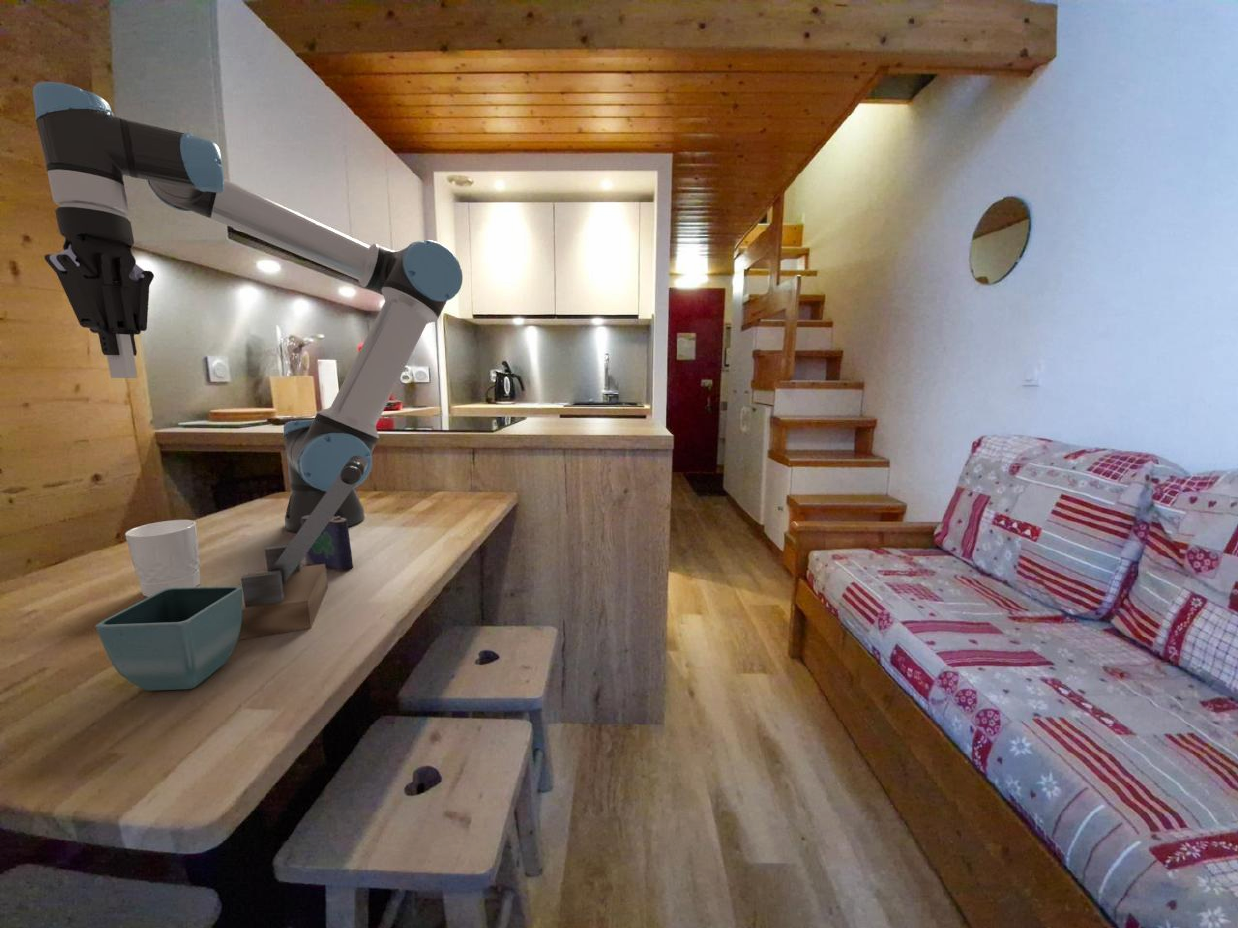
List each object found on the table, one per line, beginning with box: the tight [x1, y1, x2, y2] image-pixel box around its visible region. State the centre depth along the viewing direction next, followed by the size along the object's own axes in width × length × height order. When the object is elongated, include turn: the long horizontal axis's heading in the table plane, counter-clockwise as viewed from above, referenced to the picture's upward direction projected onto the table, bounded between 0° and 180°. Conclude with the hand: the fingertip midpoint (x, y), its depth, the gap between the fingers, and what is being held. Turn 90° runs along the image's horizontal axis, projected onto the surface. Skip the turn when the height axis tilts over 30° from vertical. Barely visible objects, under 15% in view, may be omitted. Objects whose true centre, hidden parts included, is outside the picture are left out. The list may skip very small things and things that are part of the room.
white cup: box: [124, 519, 201, 598], centre depth 75 cm, size 8×8×10 cm
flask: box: [301, 515, 354, 572], centre depth 84 cm, size 9×3×11 cm, turn 74°
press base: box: [237, 544, 329, 641], centre depth 68 cm, size 10×13×8 cm
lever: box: [269, 456, 367, 585], centre depth 68 cm, size 3×9×21 cm
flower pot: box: [94, 585, 242, 691], centre depth 54 cm, size 9×9×9 cm
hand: (124, 377), depth 74 cm, fingers closed
